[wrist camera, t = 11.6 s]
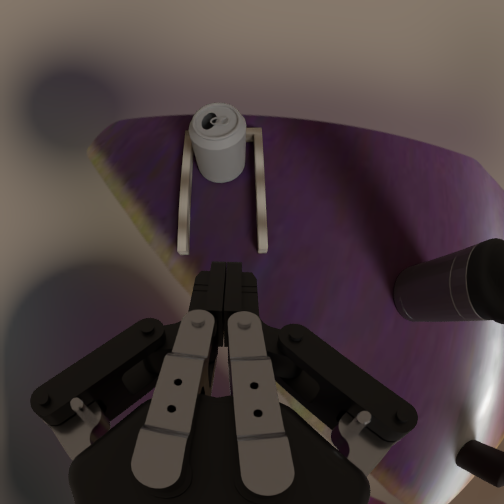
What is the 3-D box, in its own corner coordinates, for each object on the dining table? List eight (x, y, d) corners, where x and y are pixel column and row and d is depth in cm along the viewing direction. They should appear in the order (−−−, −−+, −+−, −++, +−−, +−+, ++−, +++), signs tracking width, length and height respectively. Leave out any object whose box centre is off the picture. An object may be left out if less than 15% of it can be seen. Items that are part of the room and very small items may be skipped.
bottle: (479, 437, 34) (538, 458, 14) (469, 462, 33) (523, 488, 13) (462, 442, 34) (523, 469, 15) (451, 468, 33) (506, 500, 13)
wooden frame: (266, 253, 41) (267, 249, 38) (181, 254, 40) (177, 251, 38) (260, 136, 45) (261, 127, 43) (187, 138, 44) (185, 130, 42)
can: (206, 142, 44) (197, 95, 33) (249, 150, 44) (252, 102, 33) (193, 180, 43) (178, 138, 31) (239, 189, 43) (238, 147, 31)
